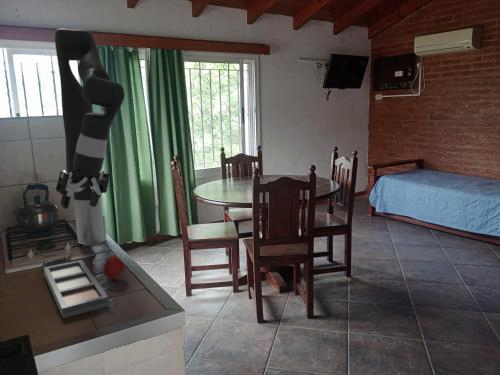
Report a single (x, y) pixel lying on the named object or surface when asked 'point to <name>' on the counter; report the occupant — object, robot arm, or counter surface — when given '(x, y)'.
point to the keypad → (74, 287)
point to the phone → (56, 262)
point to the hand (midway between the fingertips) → (78, 206)
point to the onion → (113, 267)
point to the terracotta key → (80, 296)
